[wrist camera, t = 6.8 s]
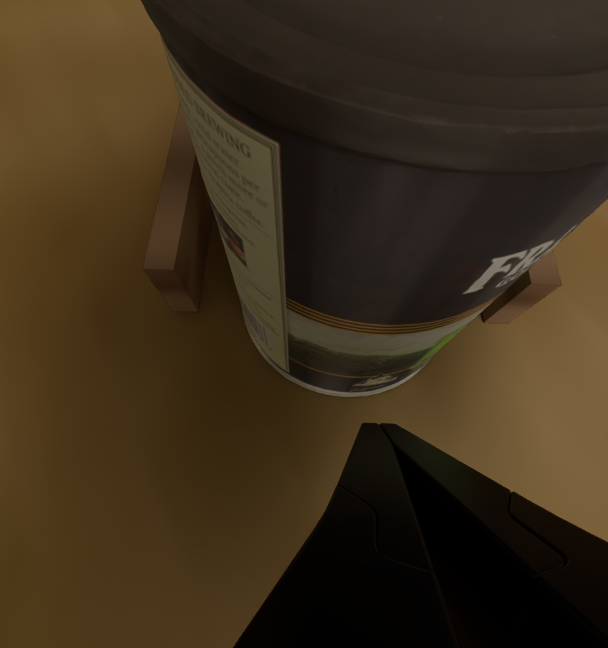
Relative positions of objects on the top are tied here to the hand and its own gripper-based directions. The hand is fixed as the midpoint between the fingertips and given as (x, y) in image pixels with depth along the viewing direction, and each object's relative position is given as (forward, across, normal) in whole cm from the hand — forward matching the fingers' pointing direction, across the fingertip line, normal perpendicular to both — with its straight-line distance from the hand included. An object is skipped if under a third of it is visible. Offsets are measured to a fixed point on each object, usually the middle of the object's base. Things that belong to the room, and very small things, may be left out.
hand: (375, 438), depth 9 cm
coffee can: (+11, 0, 0) cm, 11 cm away
